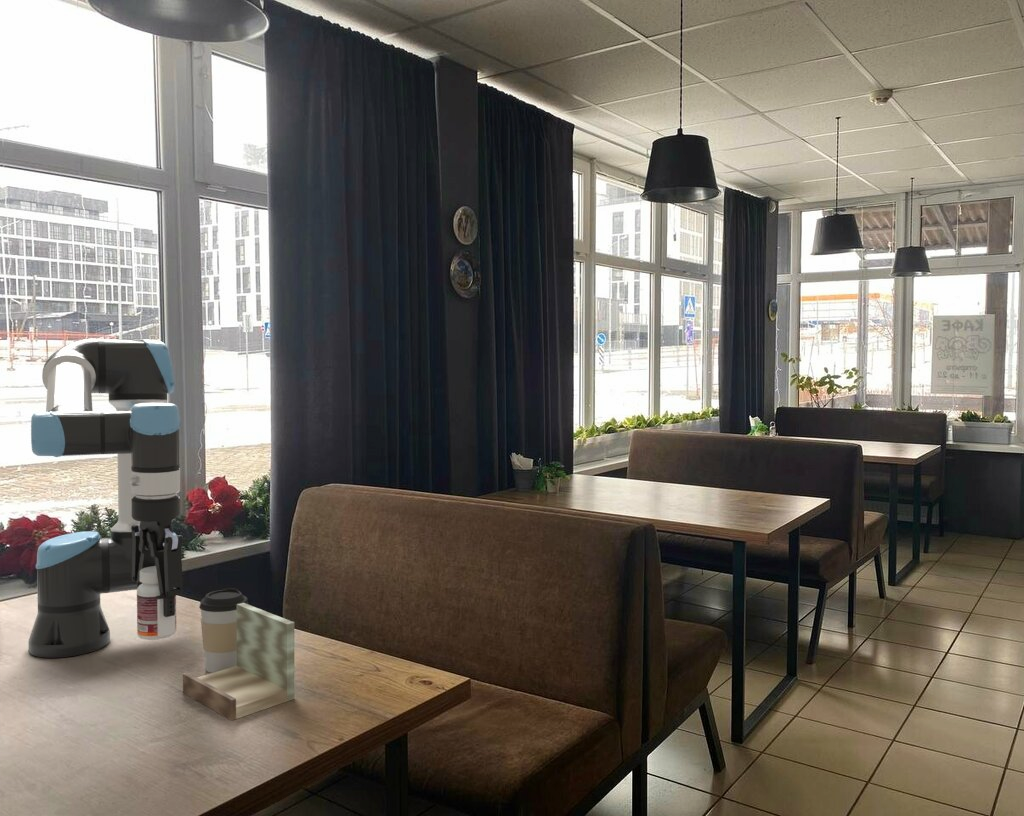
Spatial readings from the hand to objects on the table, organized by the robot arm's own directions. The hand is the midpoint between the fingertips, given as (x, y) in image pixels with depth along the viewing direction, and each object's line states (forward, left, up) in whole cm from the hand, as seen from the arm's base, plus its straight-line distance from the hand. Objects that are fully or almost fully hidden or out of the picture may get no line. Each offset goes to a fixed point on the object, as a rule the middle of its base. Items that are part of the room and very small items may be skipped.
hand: (157, 628), depth 140 cm
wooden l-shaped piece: (+3, +13, -15) cm, 20 cm away
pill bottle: (0, 0, -1) cm, 1 cm away
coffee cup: (-12, +19, -15) cm, 27 cm away
